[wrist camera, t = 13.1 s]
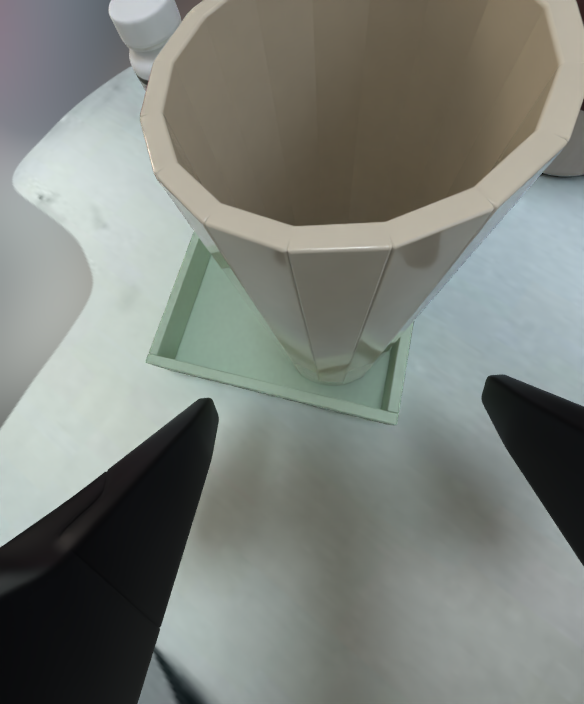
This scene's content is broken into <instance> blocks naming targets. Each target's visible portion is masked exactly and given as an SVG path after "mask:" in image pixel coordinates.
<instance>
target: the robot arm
mask: <svg viewBox="0 0 584 704" xmlns="http://www.w3.org/2000/svg"><path fill="white" fill-rule="evenodd" d="M482 403H483V405H484V407H485V409H486V411H487V413H488V415H489V417H490V419H491V421H492V423H493V424H494V426H495V428H496V430H497V432H498V434H499V436H500V438H501V440H502V442H503V444H504V445H505V447H506V449H507V450H508V452H509V454H510V455H511V457H512V458H513V460H514V461H515V463H516V464H517V466H518V467H519V469H520V470H521V472H522V473H523V475H524V476H525V478H526V479H527V481H528V483H529V484H530V486H531V487H532V489H533V490H534V492H535V493H536V495H537V496H538V498H539V499H540V501H541V502H542V504H543V505H544V507H545V508H546V510H547V511H548V513H549V514H550V516H551V517H552V519H553V520H554V522H555V524H556V525H557V527H558V528H559V530H560V531H561V533H562V534H563V536H564V537H565V539H566V540H567V542H568V543H569V545H570V546H571V548H572V549H573V551H574V552H575V554H576V555H577V557H578V558H579V560H580V562H581V563H582V565H583V566H584V406H581V405H579V404H576V403H574V402H571V401H569V400H566V399H564V398H561V397H559V396H556V395H554V394H551V393H549V392H546V391H544V390H541V389H539V388H536V387H534V386H531V385H529V384H526V383H524V382H521V381H519V380H516V379H514V378H511V377H509V376H506V375H491V376H488V377H487V379H486V382H485V386H484V389H483V393H482ZM218 422H219V417H218V413H217V410H216V408H215V405H214V402H213V400H212V399H211V398H201V399H198V400H197V401H196V402H194V403H193V404H192V405H190V406H189V407H188V408H187V409H185V410H184V411H183V412H181V413H180V414H179V415H178V416H176V417H175V418H174V419H173V420H171V421H170V422H169V423H167V424H166V425H165V426H164V427H162V428H161V429H160V430H158V431H157V432H156V433H155V434H153V435H152V436H151V437H149V438H148V439H147V440H146V441H144V442H143V443H142V444H140V445H139V446H138V447H137V448H135V449H134V450H133V451H131V452H130V453H129V454H128V455H126V456H125V457H124V458H122V459H121V460H120V461H119V462H117V463H116V464H115V465H113V466H112V467H111V468H110V469H108V471H107V472H104V473H103V474H102V475H100V476H99V477H98V478H97V479H95V480H94V481H93V482H91V483H90V484H89V485H87V486H86V487H85V488H84V489H82V490H81V491H80V492H78V493H77V494H76V495H74V496H73V497H71V498H70V499H69V500H67V501H66V502H64V503H63V504H62V505H60V506H59V507H57V508H56V509H55V510H53V511H52V512H50V513H49V514H48V515H46V516H45V517H43V518H42V519H40V520H39V521H38V522H36V523H35V524H33V525H32V526H30V527H29V528H28V529H26V530H25V531H23V532H22V533H20V534H19V535H18V536H16V537H15V538H13V539H12V540H10V541H9V542H8V543H6V544H5V545H3V546H2V547H0V704H137V703H138V700H139V697H140V694H141V690H142V687H143V684H144V680H145V677H146V674H147V671H148V667H149V664H150V661H151V658H152V654H153V651H154V648H155V644H156V641H157V638H158V635H159V631H160V627H161V624H162V621H163V618H164V614H165V611H166V608H167V604H168V601H169V598H170V595H171V591H172V588H173V585H174V581H175V578H176V575H177V572H178V568H179V565H180V562H181V559H182V555H183V552H184V549H185V545H186V542H187V539H188V536H189V532H190V529H191V526H192V523H193V519H194V516H195V513H196V509H197V506H198V503H199V500H200V496H201V493H202V490H203V486H204V483H205V480H206V477H207V473H208V470H209V467H210V463H211V459H212V454H213V449H214V443H215V438H216V433H217V428H218Z"/></svg>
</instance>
